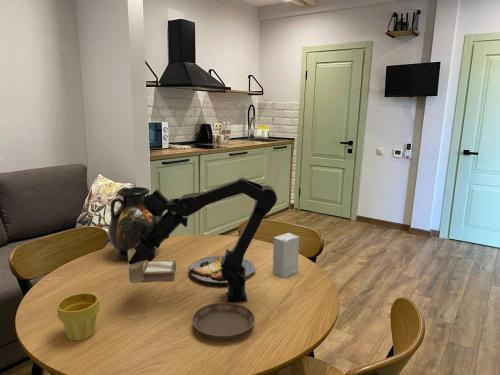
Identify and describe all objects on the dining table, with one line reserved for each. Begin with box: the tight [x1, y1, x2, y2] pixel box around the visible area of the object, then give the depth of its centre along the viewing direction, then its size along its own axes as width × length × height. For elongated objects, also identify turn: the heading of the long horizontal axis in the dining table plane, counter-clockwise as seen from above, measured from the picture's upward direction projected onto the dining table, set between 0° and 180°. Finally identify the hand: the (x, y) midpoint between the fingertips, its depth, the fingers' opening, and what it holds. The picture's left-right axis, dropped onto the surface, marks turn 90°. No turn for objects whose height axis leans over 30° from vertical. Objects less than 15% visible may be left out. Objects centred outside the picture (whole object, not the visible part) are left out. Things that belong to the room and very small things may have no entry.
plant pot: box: [56, 292, 100, 341], centre depth 101 cm, size 10×10×10 cm
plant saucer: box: [191, 302, 256, 342], centre depth 106 cm, size 18×18×3 cm
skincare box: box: [272, 232, 300, 279], centre depth 140 cm, size 8×6×15 cm
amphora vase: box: [107, 186, 160, 262], centre depth 155 cm, size 22×22×28 cm
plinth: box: [141, 260, 177, 283], centre depth 138 cm, size 11×11×3 cm
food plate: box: [188, 254, 256, 284], centre depth 141 cm, size 25×23×4 cm
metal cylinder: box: [127, 248, 144, 284], centre depth 118 cm, size 4×4×10 cm
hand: (131, 260), depth 118 cm, fingers closed on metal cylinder, 4 cm apart
